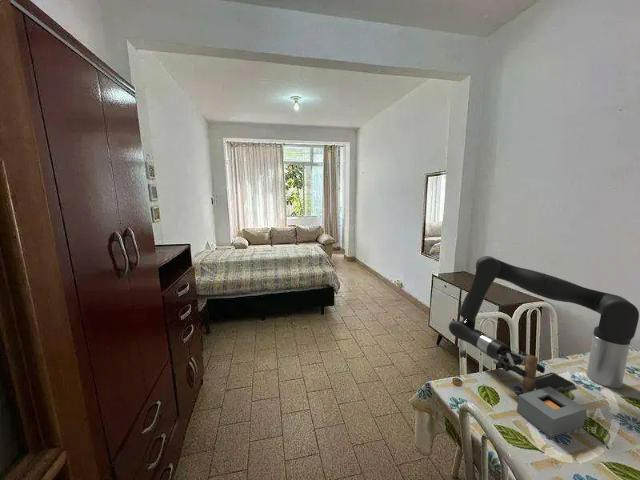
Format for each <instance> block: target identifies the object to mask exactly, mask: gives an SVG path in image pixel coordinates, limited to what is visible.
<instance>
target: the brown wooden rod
mask: <svg viewBox="0 0 640 480" xmlns="http://www.w3.org/2000/svg"><path fill="white" fill-rule="evenodd" d="M538 360H539V358H538V357H537V356H535V355H533V354H528V355H526V361H525V366H524V369H523V370H525V371H526V372H527V377H525V378H524V377H522V378H523V379H522V388H521V392H522V393H521V394H524V393H528V392H532V391H535V387H534V385H535V377H537V376H536V375H537V363H538Z"/></svg>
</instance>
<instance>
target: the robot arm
mask: <svg viewBox="0 0 640 480" xmlns="http://www.w3.org/2000/svg"><path fill="white" fill-rule="evenodd" d="M495 279H499V280H503V281H505V282H509V283H511V284H512V285H515V286H517V287H519V288H521V289H523V290H525V291H527V292H529V293H531V294H534V295H537V296H540V297H542V298H544V299H545V298H546V299H548V300H551V301H552V300H553V301H555V302H556V301H557V302H564V303H571V304H574V305H578V306H582V307H584V308H586V309H589V310H591V311H594V312H596V313H597V314H599V315H600V319H599V321H598V326H595V327H594V329H593V332H592V333H593V335H592V340H591V347H590V353H589V358H588V363H587V368H586V369H587V370H586V376H587V377H588V379H589V380H592V381H593V382H594V383H596V384H599V385H601V386H605V387H607V388H610V389H621V388H622V387H623V384H624V383H623V382H624V377H625V372H626V367H627V361H628V356H629V351H630V346H631V340H632V339H634V338H635V335H636V331H637V327H638V323H639V318H640V312H639V309H638V307H636V305H634V304H633V303H631V302H630V301H629V300H627V299H626V298H624V297H622V296H619V295H617V294H614V293H613V294H612V293H608V292H604V291H600V290H595V289H593V288H588V287H585V286H582V285H579V284H576V283H573V282H571V281H568V280H566V279H562V278H559V277H556V276H553V275H550V274H547V273H545V272H544V273H543V272H539V271H537V270H532V269H528V268H525V267H521V266H520V267H518V266H515V265H512V264H509V263H507V262H504V261H502V260H500V259H497V258H494V257H493V256H491V255H490V256H488V255H486V256H481V257H479V258H478V259H477V260H476V262H475V273H474V278H473V281H472V284H471V287H470V288H469V290H468V291H467V294H466V295H465V298H464V299H463V301H462V304H461V306H460V308H459V311H458V314H459V316H460V317H461V318H462V320H453V321H451V322H449V324H448V330H449V332H450V333H451V335H452V336H454V337H456V338H458V339H459V340H461V341H463V342H466V343H468V344H471V346H474V347H475V348H476V349H478V350H480V351H481V352H482V353H483V354H484V355H486V356H488V357H489V358H490V359H493V363H494V364H495V365H496V366H497V367H499V368H501V369H503V371H505V372H509V371H511V372H513V373H515V374H517V375H519V376H520V377H522V378H525V377H527V372H526V371H525V370H524V369H523V368H521V367H520V366H523V367H525V361H526V355H529V354H528V353H526V352H524V351H523V350H518V352H514V351H512V349H511V348H510V346H509V345H507V344H505V343H504V342H502V341H500V340H498V339H496V338H495V337H493V336H491V335H488V334H486V333H484V332H483V331H481V330H478V329H475V328H476V319H477V316H478V314H479V311H480V310H481V307H482V306H483V305H482V304H483V302H484V300H485V297H486V294H487V293H488V290H489V289H490V287H491V285H492V284H493V283H494V281H495ZM466 319H467V320H466ZM465 320H466V321H467V322H466V323H464V321H465ZM481 333H482V334H481ZM519 365H520V366H519ZM536 372H539V373H541V374H544V373H545V372H546V368H545V367H544V366H543V365H541V364H539V363H538V362H537V370H536Z"/></svg>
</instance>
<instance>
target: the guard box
mask: <svg viewBox="0 0 640 480" xmlns="http://www.w3.org/2000/svg"><path fill="white" fill-rule="evenodd" d="M517 397H518V398H517V406H516V412H517V414H519V415H520V416H522V417H523V418H525V419H526V420H527V421H528V422H529V423H531V424H532V425H534V426H535V427H536V428H537V429H539V430H540V431H541V432H543V433H544V434H545V435H546V436H547V437H549V438H551V439H552V438H554V437H557V436H560V435H564V434H565V433H569V432H572V431H574V430H578V429H581V428H583V427H584V425H585V419H586V414H587V408H586V407H584V406H582V405H581V404H579V403H578V402H575V401H574V400H573V399H571V398H569V397H568V396H566V395H565V394H563V393H562V392H560V393H559V392H558V391H556V390H555V389H553V388H551V387H546V388H543V389H539V390H538V389H536V390H535V389H534V391H532V392H528V393H524V394H523V393H521V394H518V396H517ZM547 400H550V401H551V402H553V403H554V404H556V405H557V406H559V407H560V408H558V409H553V408H552V407H550V406H549V405H547V404H546V403H544V402H543V401H547Z"/></svg>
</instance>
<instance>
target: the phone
mask: <svg viewBox="0 0 640 480" xmlns="http://www.w3.org/2000/svg"><path fill="white" fill-rule="evenodd" d="M546 387H551V388H553V389H555V390H556V391H558V392H559V393H562V392H566V391H568V390H572V389H575V388H576V384H575V383H573V382H572V381H570V380H567V379H566V378H564V377H563V376H560V375H558V374H557V373H555V372H549V373H545V374H542V375H538V376H536V377H535V385H534V389H536V390H539V389H543V388H546Z"/></svg>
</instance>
